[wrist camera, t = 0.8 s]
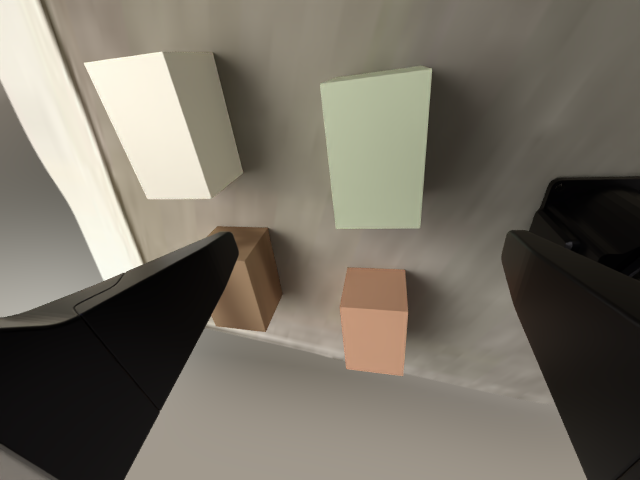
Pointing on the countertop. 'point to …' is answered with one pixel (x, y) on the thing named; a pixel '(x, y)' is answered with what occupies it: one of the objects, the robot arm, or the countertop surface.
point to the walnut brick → (249, 282)
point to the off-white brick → (170, 121)
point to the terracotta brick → (374, 320)
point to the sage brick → (377, 146)
